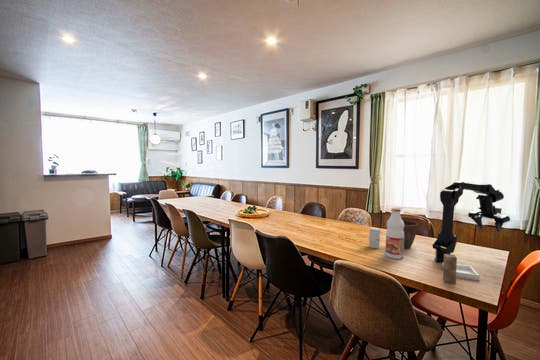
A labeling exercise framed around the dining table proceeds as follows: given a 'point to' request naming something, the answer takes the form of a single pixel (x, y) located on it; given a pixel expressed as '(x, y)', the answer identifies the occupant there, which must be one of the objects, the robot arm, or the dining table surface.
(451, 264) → the walnut block
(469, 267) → the tray
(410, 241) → the plant pot
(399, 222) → the fruit juice
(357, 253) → the dining table surface
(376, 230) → the skincare box
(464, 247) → the dining table surface
